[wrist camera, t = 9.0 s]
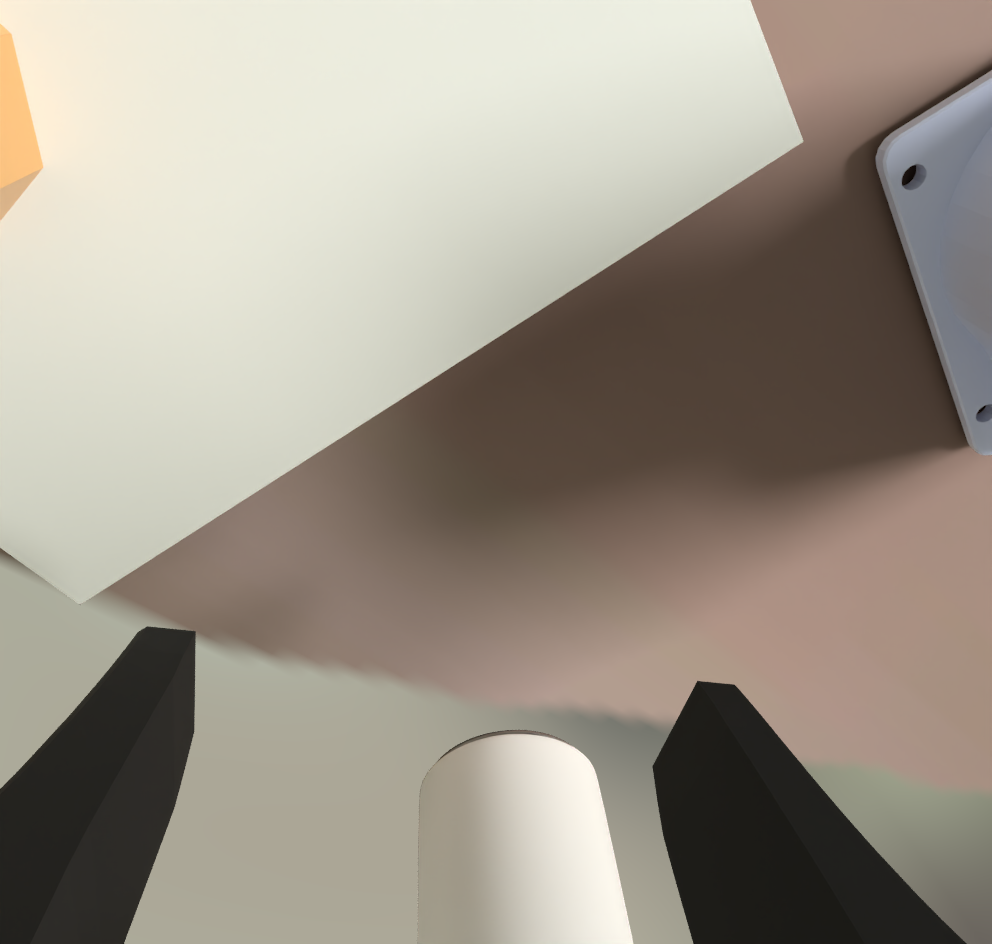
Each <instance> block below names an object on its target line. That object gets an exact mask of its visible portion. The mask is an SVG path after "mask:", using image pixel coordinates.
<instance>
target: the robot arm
mask: <svg viewBox="0 0 992 944" xmlns="http://www.w3.org/2000/svg"><path fill="white" fill-rule="evenodd" d="M913 165H916V174H915V176H914V178H913V180H912V181H910V182H909V183H908V184H907V185H904V186H902V177H903V175H904V173H905V171H906V170H907V169H908V168H909V167H910V166H913ZM876 167H877V170H878V174H879V177H880V180H881V183H882V186H883V189H884V192H885V195H886V198H887V201H888V204H889V207H890V210H891V213H892V216H893V219H894V222H895V225H896V228H897V231H898V234H899V237H900V240H901V243H902V246H903V249H904V252H905V255H906V258H907V261H908V264H909V267H910V270H911V273H912V276H913V279H914V282H915V285H916V288H917V291H918V294H919V297H920V300H921V303H922V306H923V309H924V312H925V315H926V318H927V321H928V324H929V327H930V330H931V333H932V336H933V339H934V342H935V345H936V348H937V351H938V354H939V357H940V360H941V363H942V366H943V369H944V372H945V375H946V378H947V381H948V384H949V387H950V391H951V394H952V397H953V400H954V403H955V406H956V409H957V412H958V415H959V418H960V421H961V424H962V427H963V430H964V433H965V436H966V439H967V442H968V444H969V445H970V447H971V448H972V449H974V450H975V451H976V452H977V453H979V454H981V455H992V70H991V71H990V72H988V73H986V74H985V75H983V76H982V77H980V78H978V79H977V80H975V81H974V82H972V83H970V84H969V85H967V86H966V87H964V88H962V89H961V90H959V91H958V92H956V93H954V94H953V95H951V96H950V97H948V98H946V99H945V100H943V101H942V102H940V103H938V104H937V105H935V106H934V107H932V108H930V109H929V110H927V111H926V112H924V113H922V114H921V115H919V116H918V117H916V118H914V119H913V120H911V121H910V122H908V123H906V124H905V125H903V126H902V127H900V128H898V129H897V130H895V131H894V132H892V133H891V134H890V135H889V136H887V137H886V138H885V139H884V140H883V142H882V143H881V145H880V146H879V148H878V151H877V155H876ZM985 405H987V406H986V407H985V409H984V410H983V411H982V412H980V413H979V414H977V412H978V411H979V409H981V408H982V407H983V406H985ZM194 707H195V631H187V630H177V629H167V628H157V627H146V628H144V629H142V630H141V631H139V632H138V633H137V634H136V636H135V637H134V638H133V639H132V641H131V642H130V644H129V645H128V646H127V647H126V649H125V650H124V651H123V652H122V654H121V655H120V656H119V658H118V659H117V660H116V661H115V663H114V664H113V665H112V666H111V667H110V669H109V670H108V671H107V672H106V674H105V675H104V676H103V677H102V678H101V680H100V681H99V682H98V683H97V685H96V686H95V687H94V688H93V689H92V690H91V691H90V693H89V694H88V695H87V696H86V697H85V698H84V699H83V701H82V702H81V703H80V704H79V705H78V706H77V708H76V709H75V710H74V711H73V712H72V713H71V715H70V716H69V717H68V718H67V719H66V720H65V721H64V722H63V723H62V724H61V725H60V726H59V727H58V729H57V730H56V731H55V732H54V733H53V734H52V735H51V736H50V737H49V738H48V739H47V741H46V742H45V743H44V744H43V745H42V746H41V747H40V748H39V749H38V750H37V751H36V752H35V754H34V755H33V756H32V757H31V758H30V759H29V760H28V761H27V762H26V763H25V764H24V765H23V766H22V768H21V769H20V770H19V771H18V772H17V773H16V774H15V775H14V776H13V777H12V778H11V779H10V780H9V781H8V782H7V783H6V784H5V785H4V786H3V787H2V788H1V789H0V944H124V942H125V939H126V936H127V933H128V931H129V928H130V926H131V923H132V920H133V918H134V915H135V912H136V910H137V907H138V904H139V901H140V899H141V896H142V894H143V891H144V888H145V886H146V883H147V880H148V878H149V875H150V872H151V870H152V867H153V864H154V862H155V859H156V856H157V853H158V851H159V848H160V845H161V843H162V840H163V837H164V834H165V832H166V829H167V827H168V824H169V821H170V818H171V815H172V813H173V810H174V807H175V804H176V799H177V796H178V792H179V789H180V785H181V781H182V777H183V773H184V770H185V766H186V762H187V757H188V754H189V750H190V746H191V742H192V738H193V734H194ZM653 772H654V779H655V787H656V794H657V801H658V807H659V813H660V818H661V825H662V830H663V836H664V840H665V843H666V847H667V851H668V855H669V858H670V862H671V866H672V869H673V873H674V876H675V880H676V884H677V887H678V891H679V894H680V898H681V901H682V905H683V908H684V912H685V915H686V919H687V922H688V926H689V929H690V933H691V936H692V940H693V943H694V944H966V943H965V942H964V941H963V940H962V939H961V938H960V937H959V936H958V935H957V934H956V933H955V932H954V931H953V930H952V929H951V928H950V927H949V926H948V925H946V923H945V922H944V921H942V920H941V919H940V918H939V917H938V915H936V913H935V912H934V911H933V910H932V909H931V908H930V907H929V906H927V904H926V903H925V902H924V901H923V900H922V899H921V898H920V897H919V896H918V895H917V894H916V893H915V892H914V891H913V890H912V889H911V888H910V887H909V886H908V885H907V884H906V882H905V881H903V879H902V878H901V877H900V876H899V875H898V874H897V873H896V872H895V871H894V870H893V868H892V867H891V866H890V865H889V864H888V863H887V862H886V861H885V860H884V859H883V858H882V857H881V856H880V854H879V853H877V851H876V850H875V849H874V848H873V847H872V846H871V845H870V843H869V842H868V841H867V840H866V839H865V838H864V837H863V836H862V834H861V833H860V832H859V831H858V830H857V829H856V828H855V827H854V825H853V824H852V823H851V822H850V821H849V820H848V819H847V818H846V816H845V815H844V814H843V813H842V812H841V811H840V809H839V808H838V807H837V806H836V805H835V804H834V802H833V801H832V800H831V799H830V798H829V797H828V795H827V794H826V793H825V792H824V791H823V789H822V788H821V787H820V786H819V785H818V784H817V782H816V781H815V780H814V779H813V778H812V777H811V775H810V774H809V773H808V772H807V771H806V769H805V768H804V767H803V766H802V764H801V763H800V762H799V761H798V760H797V758H796V757H795V756H794V755H793V754H792V752H791V751H790V750H789V749H788V747H787V746H786V745H785V744H784V743H783V741H782V740H781V739H780V738H779V737H778V735H777V734H776V733H775V732H774V731H773V729H772V728H771V727H770V726H769V724H768V723H767V722H766V721H765V720H764V718H763V717H762V716H761V715H760V714H759V712H758V711H757V710H756V709H755V708H754V706H753V705H752V704H751V703H750V702H749V701H748V699H747V698H746V697H745V696H744V695H743V694H742V692H741V691H740V690H739V689H738V688H737V687H736V686H735V685H732V684H721V683H711V682H701V681H697V683H696V685H695V687H694V689H693V691H692V693H691V694H690V696H689V698H688V700H687V702H686V704H685V706H684V708H683V710H682V711H681V713H680V715H679V717H678V719H677V721H676V723H675V725H674V727H673V729H672V730H671V732H670V734H669V736H668V738H667V740H666V742H665V744H664V746H663V748H662V749H661V751H660V753H659V755H658V757H657V759H656V761H655V763H654V765H653Z"/></svg>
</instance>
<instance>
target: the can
mask: <svg viewBox="0 0 992 944" xmlns="http://www.w3.org/2000/svg"><path fill="white" fill-rule="evenodd" d="M417 944H633V939H632V935H631V930H630V926H629V921H628V916H627V912H626V907H625V902H624V898H623V893H622V888H621V884H620V879H619V875H618V870H617V865H616V860H615V856H614V852H613V847H612V842H611V838H610V833H609V829H608V824H607V819H606V815H605V810H604V806H603V802H602V797H601V792H600V789H599V784H598V780H597V777H596V773H595V770H594V768H593V766H592V764H591V763H590V761H589V760H588V759H587V758H586V757H585V756H584V755H583V754H582V753H581V752H580V751H578V750H577V749H575V748H574V747H573V746H571V745H570V744H569V743H567V742H565V741H564V740H561V739H559V738H557V737H555V736H552V735H549V734H545V733H541V732H536V731H527V730H507V731H498V732H492V733H487V734H483V735H480V736H477V737H474V738H471V739H469V740H466V741H464V742H462V743H460V744H458V745H457V746H455V747H453V748H452V749H450V750H449V751H448V752H447V753H445V754H444V755H443V756H442V757H441V758H440V759H439V760H438V762H437V763H436V764H435V765H434V766H433V767H432V768H431V769H430V770H429V772H428V773H427V775H426V776H425V778H424V780H423V782H422V785H421V790H420V804H419V851H418V937H417Z"/></svg>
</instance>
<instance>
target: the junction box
mask: <svg viewBox="0 0 992 944" xmlns="http://www.w3.org/2000/svg"><path fill="white" fill-rule="evenodd" d="M0 24H1V25H2V26H3V27H4V28H6V29H7V30H8V31H9V32H10V33H11V34H12V38H13V42H14V47H15V51H16V55H17V59H18V63H19V67H20V72H21V76H22V80H23V84H24V88H25V92H26V96H27V101H28V105H29V109H30V113H31V117H32V121H33V126H34V130H35V134H36V138H37V142H38V146H39V151H40V155H41V159H42V163H43V169H42V170H41V171H40V172H39V174H38V175H37V176H36V177H35V179H34V180H33V181H32V182H31V184H30V185H29V186H28V187H27V189H26V190H25V191H24V192H23V194H22V195H21V196H20V197H19V199H18V200H17V201H16V202H15V203H14V205H13V206H12V207H11V208H10V210H9V211H8V212H7V213H6V215H5V216H4V217H3V218H2V220H1V221H0V548H1V549H3V550H4V551H5V552H7V553H8V554H10V555H11V556H12V557H14V558H15V559H17V560H18V561H19V562H21V563H22V564H23V565H25V566H26V567H28V568H29V569H30V570H32V571H33V572H35V573H36V574H37V575H39V576H40V577H42V578H43V579H44V580H46V581H47V582H48V583H50V584H51V585H53V586H54V587H55V588H57V589H58V590H60V591H61V592H62V593H64V594H65V595H66V596H68V597H69V598H71V599H72V600H73V601H75V602H76V603H78V604H79V605H80V604H82V603H84V602H85V601H87V600H88V599H90V598H91V597H93V596H95V595H96V594H98V593H99V592H101V591H102V590H104V589H105V588H107V587H109V586H110V585H112V584H113V583H115V582H116V581H118V580H120V579H121V578H123V577H124V576H126V575H127V574H129V573H130V572H132V571H134V570H135V569H137V568H138V567H140V566H141V565H143V564H145V563H146V562H148V561H149V560H151V559H152V558H154V557H155V556H157V555H159V554H160V553H162V552H163V551H165V550H166V549H168V548H170V547H171V546H173V545H174V544H176V543H177V542H179V541H180V540H182V539H184V538H185V537H187V536H188V535H190V534H191V533H193V532H195V531H196V530H198V529H199V528H201V527H202V526H204V525H205V524H207V523H209V522H210V521H212V520H213V519H215V518H216V517H218V516H220V515H221V514H223V513H224V512H226V511H227V510H229V509H230V508H232V507H234V506H235V505H237V504H238V503H240V502H241V501H243V500H244V499H246V498H248V497H249V496H251V495H252V494H254V493H255V492H257V491H259V490H260V489H262V488H263V487H265V486H266V485H268V484H269V483H271V482H273V481H274V480H276V479H277V478H279V477H280V476H282V475H284V474H285V473H287V472H288V471H290V470H291V469H293V468H294V467H296V466H298V465H299V464H301V463H302V462H304V461H305V460H307V459H309V458H310V457H312V456H313V455H315V454H316V453H318V452H319V451H321V450H323V449H324V448H326V447H327V446H329V445H330V444H332V443H334V442H335V441H337V440H338V439H340V438H341V437H343V436H344V435H346V434H348V433H349V432H351V431H352V430H354V429H355V428H357V427H359V426H360V425H362V424H363V423H365V422H366V421H368V420H369V419H371V418H373V417H374V416H376V415H377V414H379V413H380V412H382V411H384V410H385V409H387V408H388V407H390V406H391V405H393V404H394V403H396V402H398V401H399V400H401V399H402V398H404V397H405V396H407V395H408V394H410V393H412V392H413V391H415V390H416V389H418V388H419V387H421V386H423V385H424V384H426V383H427V382H429V381H430V380H432V379H433V378H435V377H437V376H438V375H440V374H441V373H443V372H444V371H446V370H448V369H449V368H451V367H452V366H454V365H455V364H457V363H458V362H460V361H462V360H463V359H465V358H466V357H468V356H469V355H471V354H473V353H474V352H476V351H477V350H479V349H480V348H482V347H483V346H485V345H487V344H488V343H490V342H491V341H493V340H494V339H496V338H498V337H499V336H501V335H502V334H504V333H505V332H507V331H508V330H510V329H512V328H513V327H515V326H516V325H518V324H519V323H521V322H523V321H524V320H526V319H527V318H529V317H530V316H532V315H533V314H535V313H537V312H538V311H540V310H541V309H543V308H544V307H546V306H548V305H549V304H551V303H552V302H554V301H555V300H557V299H558V298H560V297H562V296H563V295H565V294H566V293H568V292H569V291H571V290H572V289H574V288H576V287H577V286H579V285H580V284H582V283H583V282H585V281H587V280H588V279H590V278H591V277H593V276H594V275H596V274H597V273H599V272H601V271H602V270H604V269H605V268H607V267H608V266H610V265H612V264H613V263H615V262H616V261H618V260H619V259H621V258H622V257H624V256H626V255H627V254H629V253H630V252H632V251H633V250H635V249H637V248H638V247H640V246H641V245H643V244H644V243H646V242H647V241H649V240H651V239H652V238H654V237H655V236H657V235H658V234H660V233H662V232H663V231H665V230H666V229H668V228H669V227H671V226H672V225H674V224H676V223H677V222H679V221H680V220H682V219H683V218H685V217H687V216H688V215H690V214H691V213H693V212H694V211H696V210H697V209H699V208H701V207H702V206H704V205H705V204H707V203H708V202H710V201H712V200H713V199H715V198H716V197H718V196H719V195H721V194H722V193H724V192H726V191H727V190H729V189H730V188H732V187H733V186H735V185H737V184H738V183H740V182H741V181H743V180H744V179H746V178H747V177H749V176H751V175H752V174H754V173H755V172H757V171H758V170H760V169H761V168H763V167H765V166H766V165H768V164H769V163H771V162H772V161H774V160H776V159H777V158H779V157H780V156H782V155H783V154H785V153H786V152H788V151H790V150H791V149H793V148H794V147H796V146H797V145H799V144H801V143H802V142H804V141H803V139H802V136H801V133H800V131H799V128H798V125H797V123H796V120H795V118H794V115H793V112H792V110H791V107H790V104H789V102H788V99H787V96H786V94H785V91H784V89H783V86H782V83H781V81H780V78H779V75H778V73H777V70H776V67H775V65H774V62H773V60H772V57H771V54H770V52H769V49H768V46H767V44H766V41H765V38H764V36H763V33H762V31H761V28H760V25H759V23H758V20H757V17H756V15H755V12H754V9H753V7H752V4H751V2H750V0H0Z"/></svg>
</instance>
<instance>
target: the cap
mask: <svg viewBox="0 0 992 944" xmlns="http://www.w3.org/2000/svg"><path fill="white" fill-rule="evenodd" d="M42 169H43V163H42V159H41V155H40V151H39V146H38V142H37V138H36V134H35V130H34V126H33V121H32V117H31V113H30V109H29V105H28V101H27V96H26V92H25V88H24V84H23V80H22V76H21V72H20V67H19V63H18V59H17V55H16V51H15V47H14V42H13V38H12V34H11V33H10V32H9V31H8V30H7V29H6V28H4V27H3V26H2V25H1V24H0V221H1V220H2V218H3V217H4V216H5V215H6V213H7V212H8V211H9V210H10V208H11V207H12V206H13V205H14V203H15V202H16V201H17V200H18V199H19V197H20V196H21V195H22V194H23V192H24V191H25V190H26V189H27V187H28V186H29V185H30V184H31V182H32V181H33V180H34V179H35V177H36V176H37V175H38V174H39V172H40V171H41V170H42Z"/></svg>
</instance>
